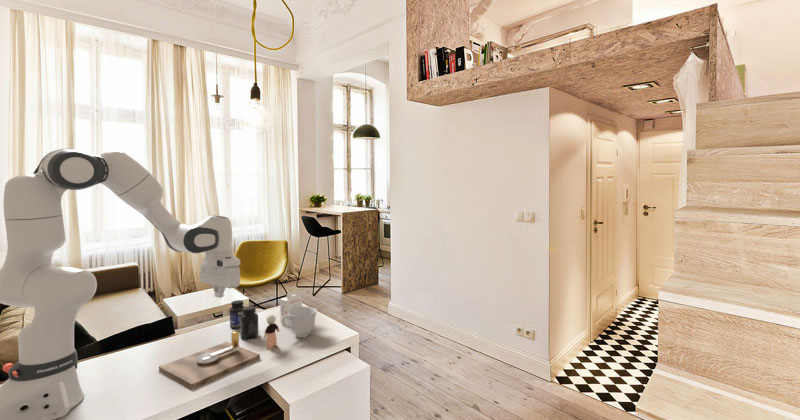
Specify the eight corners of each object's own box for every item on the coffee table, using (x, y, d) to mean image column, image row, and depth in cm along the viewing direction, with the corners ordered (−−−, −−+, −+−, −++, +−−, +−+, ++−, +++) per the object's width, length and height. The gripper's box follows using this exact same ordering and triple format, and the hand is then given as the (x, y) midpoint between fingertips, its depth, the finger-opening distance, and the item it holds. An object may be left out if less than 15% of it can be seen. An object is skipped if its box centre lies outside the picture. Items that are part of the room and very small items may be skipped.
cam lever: (203, 366, 122) (202, 347, 122) (192, 361, 126) (191, 342, 126) (243, 350, 135) (242, 332, 134) (231, 345, 138) (231, 328, 138)
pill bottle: (239, 329, 159) (239, 304, 158) (226, 328, 160) (226, 303, 159) (248, 324, 165) (247, 300, 164) (235, 323, 166) (235, 299, 165)
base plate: (191, 389, 112) (191, 383, 112) (159, 371, 123) (158, 366, 123) (259, 358, 132) (259, 354, 132) (226, 345, 143) (226, 341, 143)
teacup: (276, 335, 153) (275, 311, 152) (309, 327, 162) (309, 304, 162) (288, 345, 144) (288, 320, 143) (322, 335, 153) (322, 311, 153)
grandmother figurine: (272, 343, 145) (271, 311, 145) (281, 344, 145) (280, 312, 144) (260, 351, 138) (260, 318, 137) (270, 352, 137) (269, 319, 136)
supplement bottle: (238, 336, 152) (237, 307, 151) (255, 332, 156) (255, 304, 156) (243, 341, 147) (242, 311, 146) (260, 337, 151) (260, 308, 150)
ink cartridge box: (295, 319, 172) (294, 287, 171) (302, 321, 170) (302, 289, 169) (280, 324, 165) (279, 292, 164) (287, 327, 162) (287, 293, 161)
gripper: (195, 257, 140) (195, 294, 140) (227, 263, 129) (227, 303, 129) (211, 255, 145) (211, 291, 145) (243, 261, 134) (243, 299, 134)
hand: (219, 296), depth 137 cm, fingers closed
